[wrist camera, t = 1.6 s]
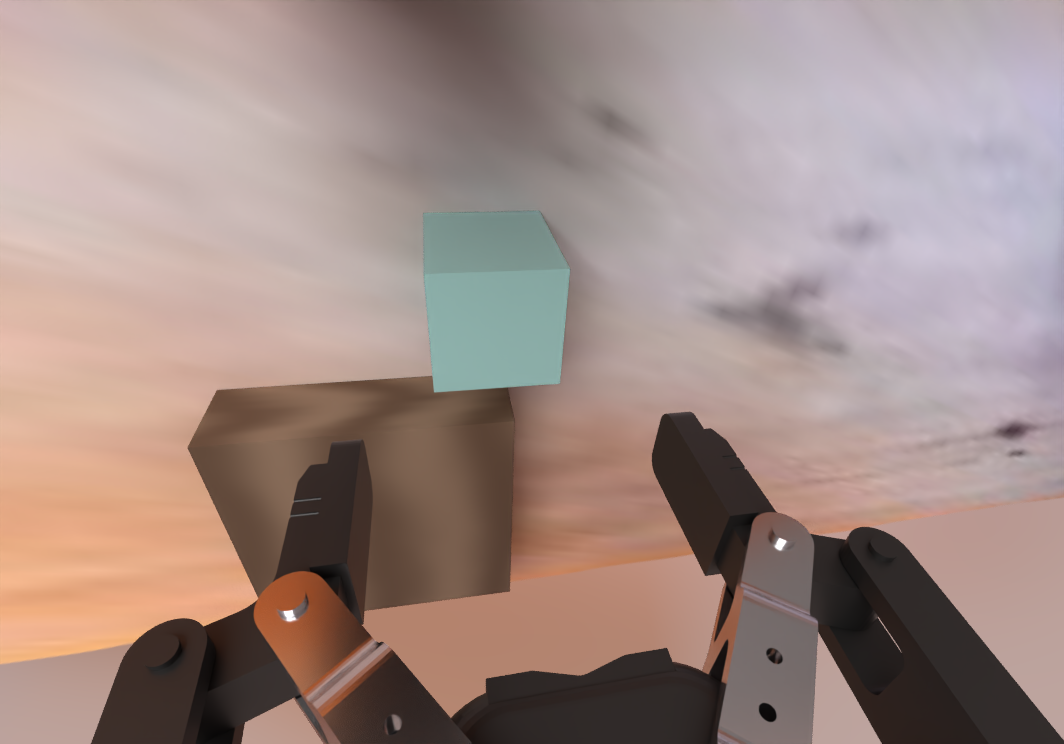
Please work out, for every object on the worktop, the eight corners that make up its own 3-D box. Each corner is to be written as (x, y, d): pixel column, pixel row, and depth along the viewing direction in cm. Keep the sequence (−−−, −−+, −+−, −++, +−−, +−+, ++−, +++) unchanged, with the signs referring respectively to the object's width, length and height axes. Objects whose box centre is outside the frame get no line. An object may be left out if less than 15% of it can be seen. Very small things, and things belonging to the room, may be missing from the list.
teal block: (539, 210, 23) (570, 269, 18) (534, 310, 26) (559, 383, 21) (423, 212, 22) (423, 274, 17) (431, 315, 25) (434, 392, 20)
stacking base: (503, 371, 28) (514, 421, 24) (501, 537, 36) (509, 591, 33) (216, 390, 25) (187, 447, 22) (284, 563, 34) (270, 623, 30)
